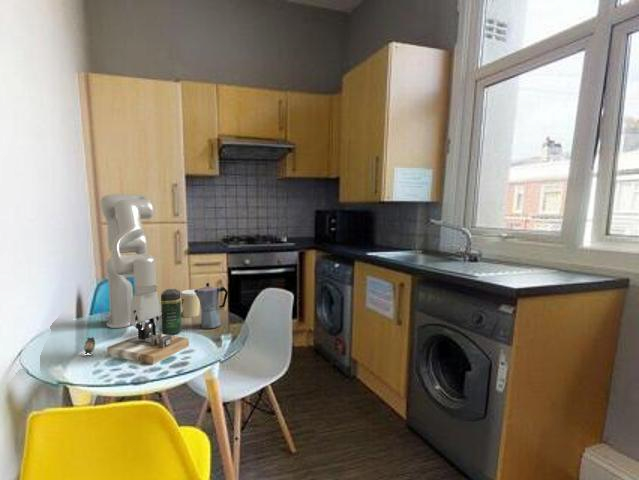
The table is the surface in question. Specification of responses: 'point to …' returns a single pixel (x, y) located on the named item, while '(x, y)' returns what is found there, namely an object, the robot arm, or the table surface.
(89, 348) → the vase
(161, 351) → the lock board
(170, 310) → the coffee jar
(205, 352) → the table surface
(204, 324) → the moka pot
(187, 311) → the coffee cup
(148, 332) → the dark metal knob
